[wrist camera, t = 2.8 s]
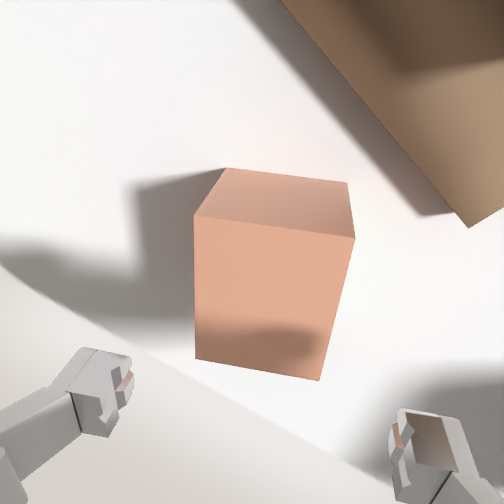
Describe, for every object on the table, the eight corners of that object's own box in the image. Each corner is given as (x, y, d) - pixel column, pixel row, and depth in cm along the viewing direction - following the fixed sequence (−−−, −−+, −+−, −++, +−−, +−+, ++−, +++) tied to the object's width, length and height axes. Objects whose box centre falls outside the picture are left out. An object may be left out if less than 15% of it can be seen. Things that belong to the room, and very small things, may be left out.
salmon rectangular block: (221, 290, 20) (195, 358, 16) (226, 167, 17) (193, 215, 12) (319, 306, 20) (318, 381, 16) (346, 182, 16) (355, 237, 12)
